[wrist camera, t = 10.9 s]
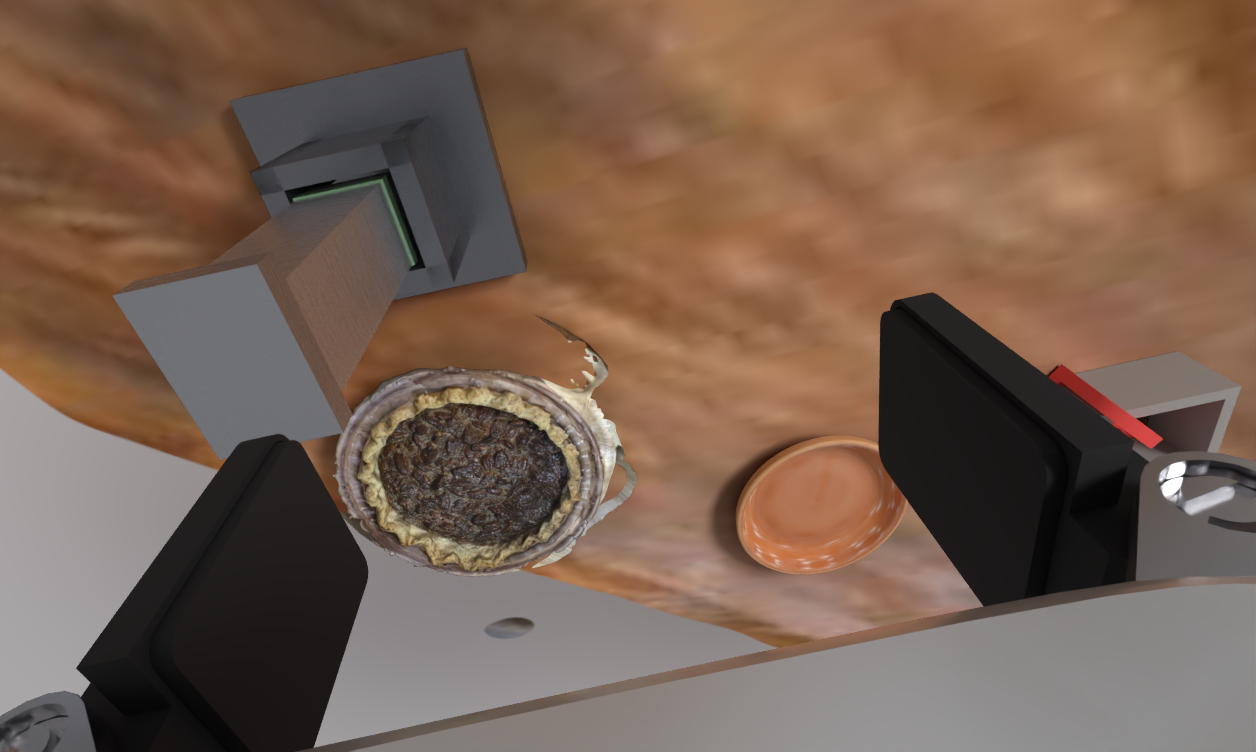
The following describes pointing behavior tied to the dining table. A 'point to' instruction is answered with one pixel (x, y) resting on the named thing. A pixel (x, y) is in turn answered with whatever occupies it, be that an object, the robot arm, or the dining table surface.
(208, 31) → the dining table surface
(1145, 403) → the bracket rest
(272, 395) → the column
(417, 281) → the stand
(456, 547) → the pie
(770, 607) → the dining table surface
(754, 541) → the saucer
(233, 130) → the dining table surface
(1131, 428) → the bracket
